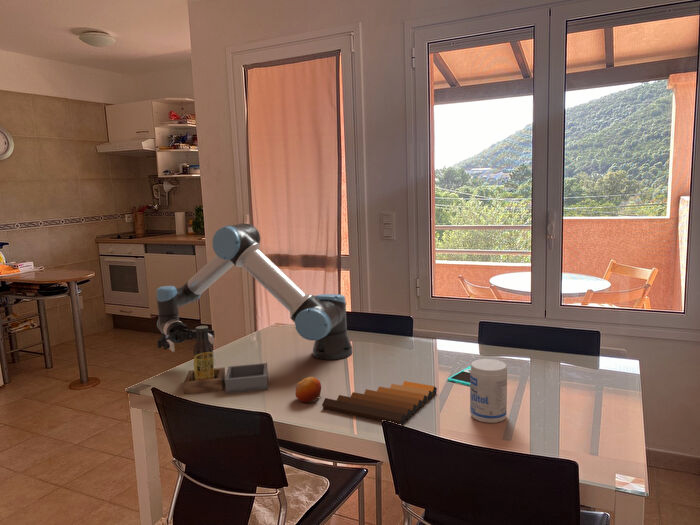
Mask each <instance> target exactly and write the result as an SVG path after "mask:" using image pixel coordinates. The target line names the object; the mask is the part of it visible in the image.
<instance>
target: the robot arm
mask: <svg viewBox="0 0 700 525" xmlns="http://www.w3.org/2000/svg"><path fill="white" fill-rule="evenodd" d="M211 240H212V242H211V243H212V250H213V252H214V254H215V256H214V257H212V259H210V260H209V261H208V262H207V263H206V264H205V265H204V266H203V267H201V269H199V270H198V271H197V272H196V273H195V274H194V275H193V276H192V277H190V279H188V281H186V282H185V283H184V284H183V285H182V286H179V287H176V286H174V285H165V286H164V285H163V286H159V287H158V288H156V292H155V293H156V302H157V303H156V304H157V305H156V306H157V313H158V320H157V321H156V326H157V329H158V331H159V332H160V334H161V335H160V337H159V338H158V339H157V341H156V342H157V349H161V348H163V350H169V351H171V353H174V352H175V351H176V350H175V344H181V343H183V342H185V341H186V340H192V341H193V340H194V339H197V334H196V327H194V328H195V329H189V327H188V326H187V324H185V323H183V322H182V321H180V316H179V314H180V313H179V308H180V307H183V306H186V305H189V304H192V303H195V302H196V301H198V300H199V299H200V298H201V297H202V294H203V293H204V292H205V291H206V290H207V289H209V287H211V286H212V285H213V284H214V283H215V282H217V280H219V278H221V277H222V276H224V275H225V273H227V272H228V271H229V270H230V269H231V268H232V267H233V266H235V267H236V268H243V269H245V270H246V272H248V273H249V274H250V275H251V276H252V277H253V278H254V279H255V280H256V281H257V282H258V283H259V284H260V285H261V286H262V287H263V288H264V289H265V290H267V291H268V292H269V294H270V295H271V296H273V297H274V298H275V299H276V300H277V301H278V302H279V303H280V304H281V305H282V306H283V307H284V308H285V309H286V310H287V311H289V317H290V319H291V321H292V322H293V323H294V325H295V330H296V332H297V333H298V335H299V336H300V337H302V338H303V339H305V340H308V341H314V343H313V348H312V356H313V357H314V358H316V359H319V360H326V361H327V360H331V361H332V360H340V359H345V358H348V357H350V356H351V355H352V354H353V345H352V343H351V340H350V337H349V334H348V332H347V330H348V328H347V327H348V326H347V325H348V324H347V307H346V306H347V303H346V297H345V295H343V294H340V293H339V294H338V293H336V294H335V293H333V294H332V293H325V294H316V295H314V294H313V293H312V294H307V293H306V292H304V290H303V289H301V288H300V287H299V285H298V284H296V283H295V282H294V281H293V280H292V279H291V278H290V277H289V276H288V275H286V274H285V273H284V272H283V271H282V269H280V268H279V267H278V266H277V265H276V264H275V263H274V262H273V261H272V260H271V259H270V258H269V257H268V256H266V254H264V253H263V251H261V250H260V247H261V246H260V243H261V234H260V231H259V230H258V229H257V227H255V226H254V225H253V224H250V223H245V222H244V223H238V224H233V225H224V226H223V227H220V228H219V229H217V230H216V231H215V232H214V234H213V237H212V239H211ZM215 336H216V335H215V330H214V329H213V330H212V329H208V338H209V341H210V343H211V344H212V345H214V344H215V342H214V339H215Z"/></svg>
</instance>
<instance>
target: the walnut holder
mask: <svg viewBox="0 0 700 525" xmlns="http://www.w3.org/2000/svg"><path fill="white" fill-rule="evenodd" d="M225 378H226V367H225V366H224V367H214V379H206V380H195V373H194V369H192V370H188V371H187V374H186V376H185V378H184V381H183V383H182V384H183V386H182V387H183V394H185V393H186V394H194V393H193V392H196V393H203V391H207V392H213V391H212V390H217V391H222V389H223V388H224V384H225ZM186 394H185V395H186Z"/></svg>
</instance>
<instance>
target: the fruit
mask: <svg viewBox="0 0 700 525" xmlns="http://www.w3.org/2000/svg"><path fill="white" fill-rule="evenodd" d="M321 391H322V383H321V381H320V380H319V379H318V378H316V377H315V376H308V377H305V378H303V379H301V381H298V382H297V383H296V386H295V397H296V399H297V400H298V401H300V402H301V403H304V404H308V403H313V402H314V403H317V400H318V398H322V396H321V393H322V392H321Z"/></svg>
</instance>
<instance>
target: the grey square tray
mask: <svg viewBox="0 0 700 525" xmlns="http://www.w3.org/2000/svg"><path fill="white" fill-rule="evenodd" d="M226 370H227V371H226V373H225V376H226V377H225V381H224V384H225V394H236V393H245V392H247V393H248V392H257V391H265V390H266V391H267V390H268V387H269V385H268V384H269V382H268V380H269V374H268V373H269V372H268V362H265V363H263V362H262V363H254V364H253V363H252V364H241V365H229V366H227V369H226Z"/></svg>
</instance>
